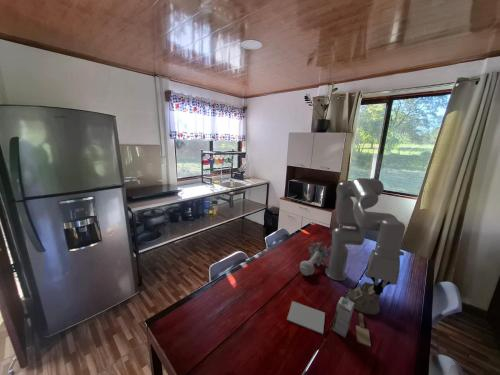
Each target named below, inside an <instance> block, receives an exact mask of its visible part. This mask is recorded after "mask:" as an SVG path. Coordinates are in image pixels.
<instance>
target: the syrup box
mask: <svg viewBox="0 0 500 375" xmlns="http://www.w3.org/2000/svg"><path fill="white" fill-rule="evenodd" d="M354 304H355V303H353V302H351V301H350V300H348V299H346V297H344V296H341V297H340V299H339V300H338V302H337V304H336V308H335V313H334V317H333V318H334V319H333V324H332V327H331V330H332V331H333V332H334V333H336V334H338V335H339V336H342V337H343V338H346V336H347V334H348V331H349V329H350V325H351V320H352V316H353V312H354Z"/></svg>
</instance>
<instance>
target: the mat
mask: <svg viewBox="0 0 500 375" xmlns="http://www.w3.org/2000/svg"><path fill="white" fill-rule="evenodd" d="M325 315H326V312H323V311H321V310H318V309H316V308H313V307H310V306H308V305H304V304H302V303H300V302H296V301H293V300H292V301H291V304H290V307H289V312H288V314H287V318H286V321H288V322H289V323H290V322H291V323H294V324H295V325H298V326H300V327H304V328H306V329H307V330H311V331H313V332H315V333H319V334H321V335H324V329H325V328H324V327H325V320H326V318H325V317H326V316H325Z"/></svg>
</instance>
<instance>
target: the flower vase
mask: <svg viewBox="0 0 500 375" xmlns="http://www.w3.org/2000/svg"><path fill="white" fill-rule="evenodd" d="M322 244H323V241H321V242H314V243H313V242H311V243H310V246H308V247H307V249H308V253H310V254H311V255H310V256H309V257H310V259H309V260H302V261H301V262H300V263H299V271H300V273H301V274H302V275H304V276H306V277H307V276H312V275H314V272H315V266H314V265H315V264H316V265H317V267H320V266H321V265H323V266H324V263H323V262H322V261H324V262H326V261H327V260H326V257H329V254H328V248H327V245H325V246H322V247H321V245H322ZM315 246H316V247H315Z"/></svg>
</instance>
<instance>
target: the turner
mask: <svg viewBox="0 0 500 375" xmlns="http://www.w3.org/2000/svg"><path fill="white" fill-rule="evenodd" d="M358 319H359V320H358V321H359V323H358V324H359V325H357V324H356V325H355V330H356V331H355V333H356V342H357V343H358V344H361V345H363V346H366V347H370V348H371V346H372V344H371V337H370V329H368V328H365V320H364V319H365V318H364V314H363V312H359V313H358Z"/></svg>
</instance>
